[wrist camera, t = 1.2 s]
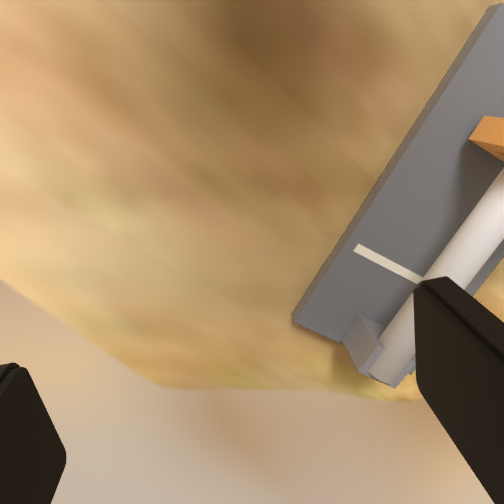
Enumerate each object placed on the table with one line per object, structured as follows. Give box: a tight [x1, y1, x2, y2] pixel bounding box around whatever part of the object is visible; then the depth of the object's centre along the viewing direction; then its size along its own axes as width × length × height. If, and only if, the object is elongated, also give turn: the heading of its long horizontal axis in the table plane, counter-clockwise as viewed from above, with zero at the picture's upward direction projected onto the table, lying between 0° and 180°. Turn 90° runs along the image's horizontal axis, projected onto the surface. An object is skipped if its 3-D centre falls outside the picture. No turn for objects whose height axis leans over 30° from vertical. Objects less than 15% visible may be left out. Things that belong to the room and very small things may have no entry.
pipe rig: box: [292, 3, 504, 388], centre depth 35 cm, size 30×14×8 cm, turn 151°
